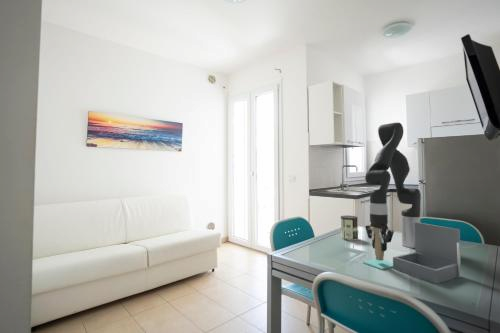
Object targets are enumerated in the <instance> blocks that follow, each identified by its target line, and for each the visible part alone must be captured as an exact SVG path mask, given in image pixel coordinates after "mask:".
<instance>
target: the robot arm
mask: <svg viewBox="0 0 500 333" xmlns="http://www.w3.org/2000/svg"><path fill="white" fill-rule="evenodd" d="M377 134H378V138H379V141H380V143H381V146H382V147H381V148H380V149H379V151H378V152H377V153H376V156H375V159H374V161H373V163H372V164H371V166H370V167H369V168H368V170H367V171H366V173H365V175H364V179H365V180H364V181H365V183H366V184H368V185H370V186H380V187H379V189H373V190H371V191H370V192H369V223H370V224H369V225H365V226H364V228H365V231H366V235H367V238H368V239H370V240H371V245H372V249H374V250H375V232H374V231H373V230H371V227H374V228H375V227H376V228H379V229H378V231H379V232H378V233H379V237H380V238H381V242H382V243H381V248H382V251H384V252H386V251H388V250H387V249H388V243H391V242H392V241H393V240H392V239H393V236H394V234H395V233H394V232H395V231H394V229H390V228H389V226H388V223H389V217H388V216H389V215H388V212H389V211H388V201H387V198H388V196H387V194H388V190H389V186H390V182H391V175H392V178H393V182H394V185H395V190H396V195H397V198H398V201H399V203H400V204H404V205H411V207H409V208H407V209H402V210H401V212H400V213H401V243H402V244H401V245H402V246H403V247H406V248H409V249H410V248H413V249H415V222H418V223H421V202H422V201H421V200H422V198H421V197H422V196H421V195H422V194H421V190H420V189H419V188H416V187H415V188H408V187H405V185H404V183H405V180H406V179H407V178H408V176H409V173H410V170H411V168H410V164H409V160H408V159H407V158H408V157H406V156H405V155H404V154H403V153H402V152H401V151H399V150H398V147H399V145H400V143H401V141H402V139H403V137H404V127H403V124H402V123H400V122H391V123H385V124H380V125H379V126H378V129H377ZM389 169H390V172H391V173H390V172H389V171H388V170H389ZM380 228H381V229H382V232H381V231H380ZM382 235H383V236H382Z"/></svg>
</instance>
